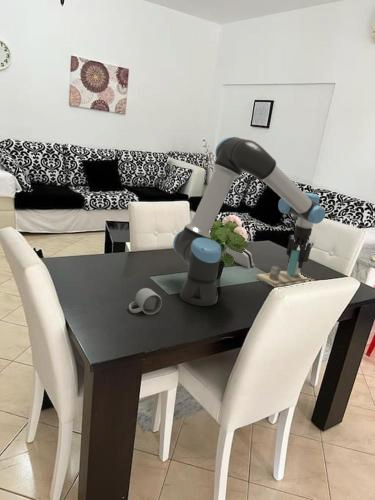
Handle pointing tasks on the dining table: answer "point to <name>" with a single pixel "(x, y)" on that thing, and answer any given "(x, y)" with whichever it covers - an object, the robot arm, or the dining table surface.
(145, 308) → the ceramic mug
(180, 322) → the dining table surface
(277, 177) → the robot arm
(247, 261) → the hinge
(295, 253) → the block
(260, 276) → the hole board
